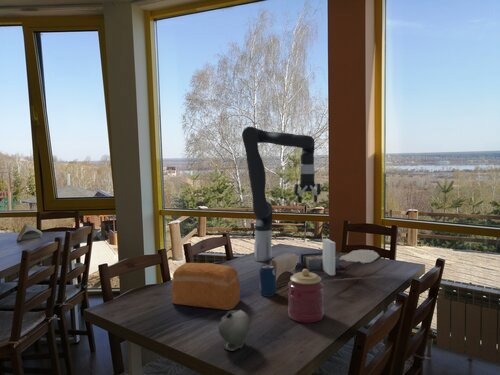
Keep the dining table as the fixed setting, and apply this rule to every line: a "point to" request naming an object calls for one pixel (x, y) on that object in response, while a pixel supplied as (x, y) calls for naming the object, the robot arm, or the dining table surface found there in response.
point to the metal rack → (316, 261)
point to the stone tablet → (361, 256)
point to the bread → (206, 286)
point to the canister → (305, 297)
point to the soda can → (267, 280)
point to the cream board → (329, 256)
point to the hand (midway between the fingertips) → (307, 202)
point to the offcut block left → (311, 259)
